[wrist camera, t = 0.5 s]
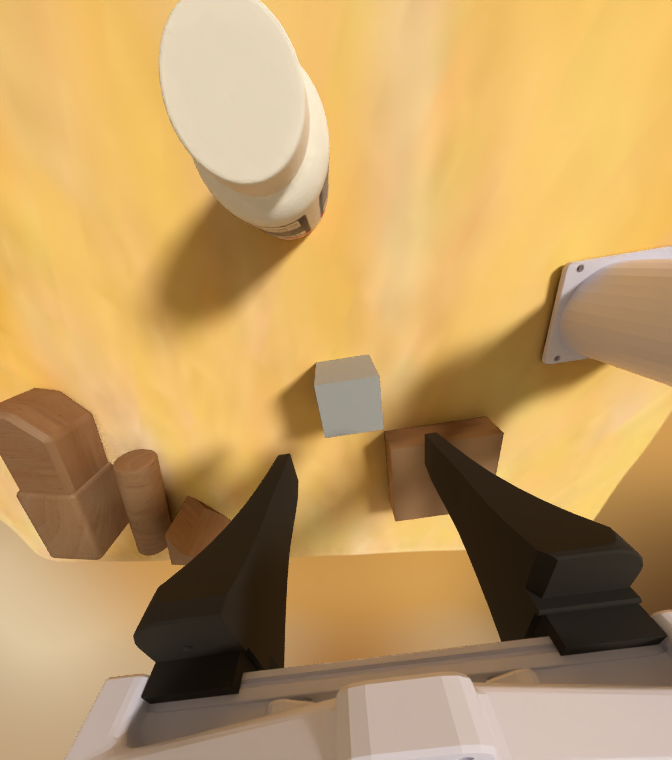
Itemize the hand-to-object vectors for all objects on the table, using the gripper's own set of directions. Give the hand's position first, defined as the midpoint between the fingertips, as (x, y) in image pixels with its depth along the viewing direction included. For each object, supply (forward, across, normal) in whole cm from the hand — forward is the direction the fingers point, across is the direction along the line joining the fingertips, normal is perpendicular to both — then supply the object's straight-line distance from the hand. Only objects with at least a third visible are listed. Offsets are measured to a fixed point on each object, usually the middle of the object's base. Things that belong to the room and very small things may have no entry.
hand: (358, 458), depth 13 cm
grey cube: (+10, 0, 0) cm, 10 cm away
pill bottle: (+10, +2, -14) cm, 17 cm away
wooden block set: (+10, +21, +7) cm, 24 cm away
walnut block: (+10, -8, +11) cm, 17 cm away
